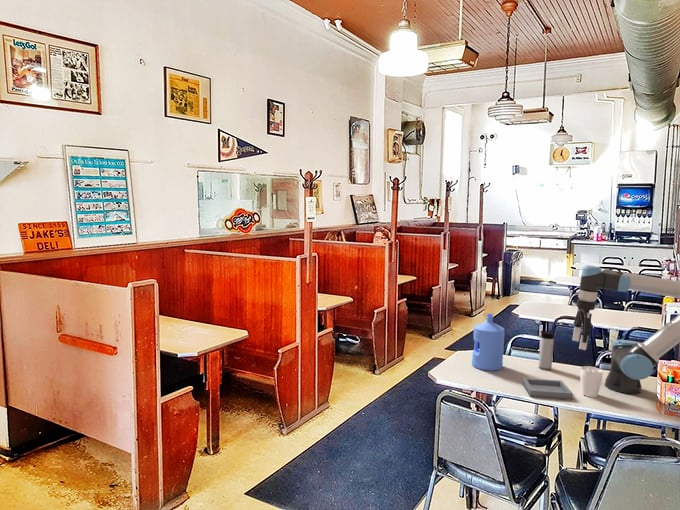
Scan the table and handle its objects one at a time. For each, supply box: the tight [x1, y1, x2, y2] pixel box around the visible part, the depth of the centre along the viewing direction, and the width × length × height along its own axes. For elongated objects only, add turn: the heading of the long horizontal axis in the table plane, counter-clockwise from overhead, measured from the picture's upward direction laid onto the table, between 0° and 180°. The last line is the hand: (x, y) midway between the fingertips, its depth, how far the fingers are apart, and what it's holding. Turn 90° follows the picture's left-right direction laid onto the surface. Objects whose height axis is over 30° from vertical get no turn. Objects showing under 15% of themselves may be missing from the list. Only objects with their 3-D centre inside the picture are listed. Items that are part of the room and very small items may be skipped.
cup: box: [579, 365, 603, 398], centre depth 230 cm, size 9×9×12 cm
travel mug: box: [538, 330, 555, 371], centre depth 264 cm, size 6×7×20 cm
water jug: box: [471, 313, 505, 372], centre depth 264 cm, size 16×16×28 cm
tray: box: [521, 377, 573, 400], centre depth 233 cm, size 18×16×3 cm
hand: (578, 345), depth 231 cm, fingers open, 13 cm apart
